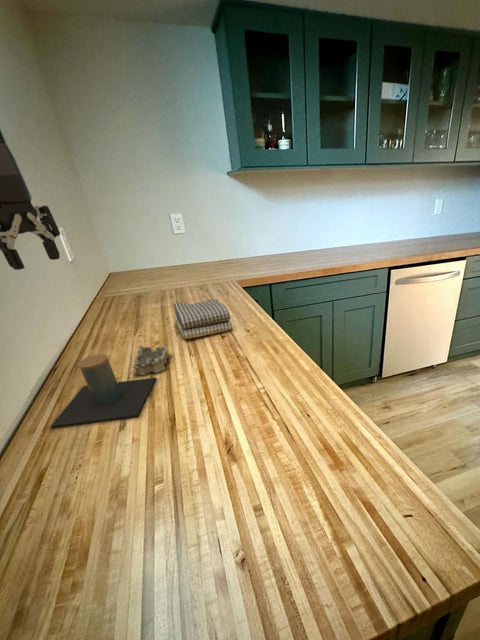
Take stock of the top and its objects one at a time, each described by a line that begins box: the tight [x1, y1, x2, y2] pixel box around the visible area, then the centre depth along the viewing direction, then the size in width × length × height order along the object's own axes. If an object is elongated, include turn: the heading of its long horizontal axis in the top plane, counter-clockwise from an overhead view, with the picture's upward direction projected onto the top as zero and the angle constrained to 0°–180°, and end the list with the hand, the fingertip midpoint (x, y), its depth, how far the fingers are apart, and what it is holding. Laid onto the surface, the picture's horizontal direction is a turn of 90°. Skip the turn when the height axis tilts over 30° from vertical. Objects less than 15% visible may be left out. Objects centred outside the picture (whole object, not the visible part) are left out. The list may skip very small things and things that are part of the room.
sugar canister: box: [77, 353, 122, 405], centre depth 72 cm, size 6×6×10 cm
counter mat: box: [50, 377, 157, 429], centre depth 74 cm, size 17×15×1 cm
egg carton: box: [132, 345, 170, 376], centre depth 87 cm, size 11×8×4 cm
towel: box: [173, 298, 232, 340], centre depth 106 cm, size 15×18×8 cm
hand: (38, 264), depth 70 cm, fingers open, 8 cm apart
